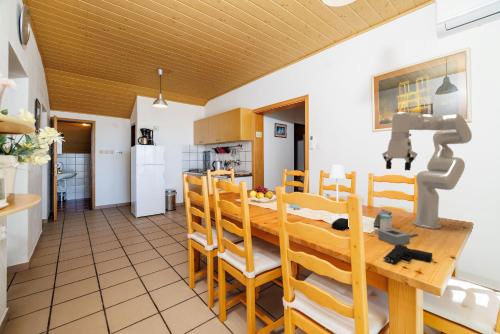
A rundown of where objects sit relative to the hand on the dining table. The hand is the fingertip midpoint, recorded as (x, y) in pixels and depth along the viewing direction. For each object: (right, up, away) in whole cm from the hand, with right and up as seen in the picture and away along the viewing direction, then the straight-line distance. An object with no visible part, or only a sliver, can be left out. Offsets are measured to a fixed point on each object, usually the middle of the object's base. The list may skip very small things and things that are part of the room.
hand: (397, 169), depth 114 cm
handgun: (-15, -36, -29) cm, 48 cm away
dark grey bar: (+2, -34, -5) cm, 34 cm away
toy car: (-23, -33, +10) cm, 42 cm away
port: (-9, -34, -10) cm, 36 cm away
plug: (-8, -33, -2) cm, 34 cm away
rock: (-1, -33, +13) cm, 35 cm away
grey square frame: (-8, -33, -2) cm, 34 cm away
